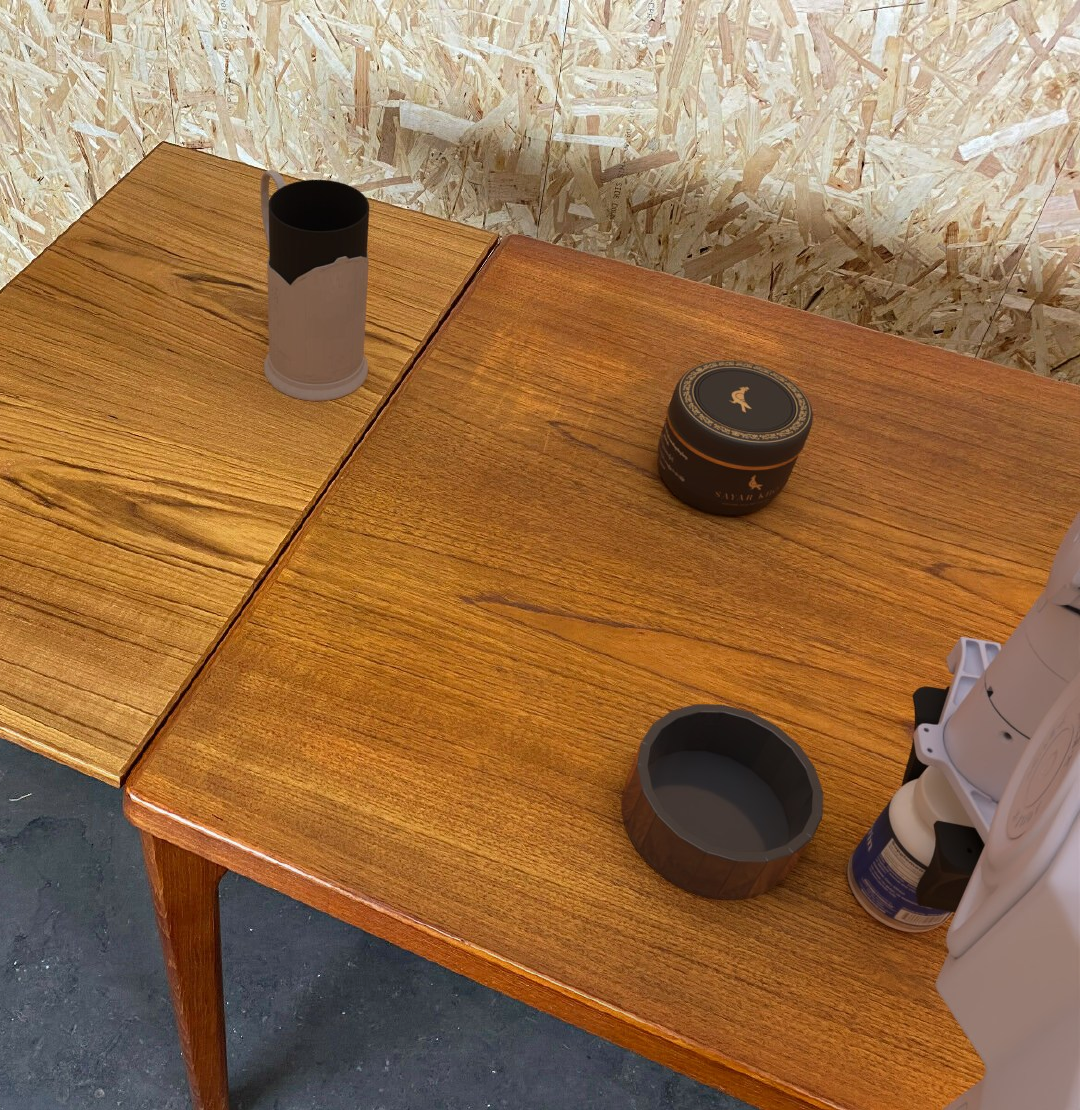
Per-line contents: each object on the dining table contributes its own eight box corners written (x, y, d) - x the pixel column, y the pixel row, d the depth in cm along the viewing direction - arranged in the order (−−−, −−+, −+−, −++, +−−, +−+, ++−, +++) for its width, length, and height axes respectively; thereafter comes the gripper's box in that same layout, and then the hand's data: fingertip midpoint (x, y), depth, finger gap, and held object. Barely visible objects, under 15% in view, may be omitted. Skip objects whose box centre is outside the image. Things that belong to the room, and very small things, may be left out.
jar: (680, 530, 84) (708, 452, 78) (630, 441, 90) (653, 363, 85) (805, 514, 85) (842, 437, 80) (747, 427, 92) (777, 350, 86)
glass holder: (291, 412, 91) (291, 248, 80) (220, 317, 100) (211, 157, 89) (387, 383, 94) (399, 220, 83) (310, 293, 103) (312, 134, 92)
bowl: (832, 871, 65) (861, 832, 62) (675, 922, 63) (696, 884, 60) (737, 729, 72) (758, 686, 68) (591, 769, 69) (606, 727, 66)
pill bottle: (879, 824, 67) (950, 728, 60) (968, 894, 65) (1054, 802, 57) (823, 881, 65) (891, 788, 58) (914, 957, 62) (997, 869, 55)
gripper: (935, 569, 57) (839, 725, 67) (986, 822, 47) (865, 960, 57) (1085, 594, 56) (965, 748, 66) (1168, 857, 46) (1013, 991, 56)
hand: (928, 848), depth 61 cm, fingers closed on pill bottle, 6 cm apart
